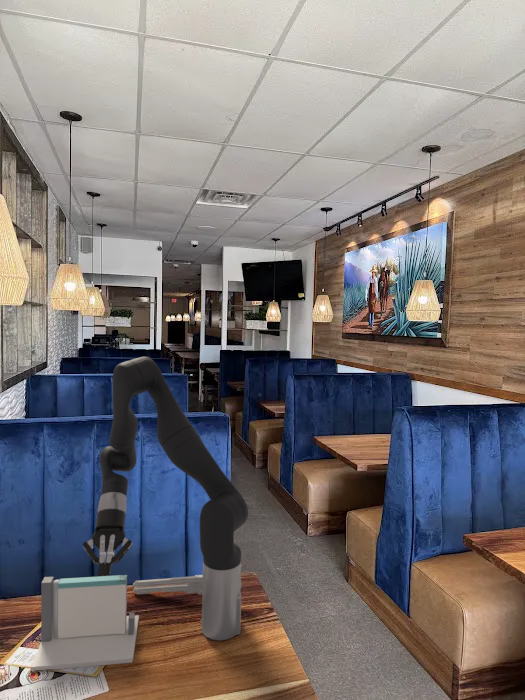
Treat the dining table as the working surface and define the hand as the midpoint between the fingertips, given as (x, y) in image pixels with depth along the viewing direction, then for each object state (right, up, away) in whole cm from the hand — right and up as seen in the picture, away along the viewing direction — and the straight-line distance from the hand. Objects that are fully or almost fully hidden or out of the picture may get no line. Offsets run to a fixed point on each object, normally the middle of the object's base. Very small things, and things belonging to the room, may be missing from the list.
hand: (103, 580), depth 118 cm
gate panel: (0, -9, -8) cm, 12 cm away
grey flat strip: (+19, -10, +9) cm, 23 cm away
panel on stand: (0, -10, -9) cm, 14 cm away
